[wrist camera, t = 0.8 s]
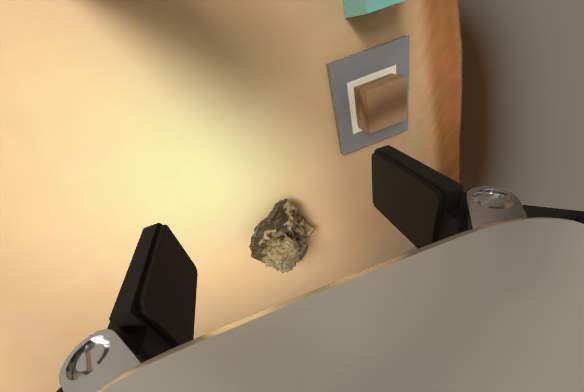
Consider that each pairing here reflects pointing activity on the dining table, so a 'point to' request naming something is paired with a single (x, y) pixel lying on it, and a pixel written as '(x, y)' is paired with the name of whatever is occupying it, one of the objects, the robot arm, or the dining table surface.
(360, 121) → the walnut block
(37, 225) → the dining table surface
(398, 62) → the grey square mat
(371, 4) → the teal block
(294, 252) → the mineral specimen
